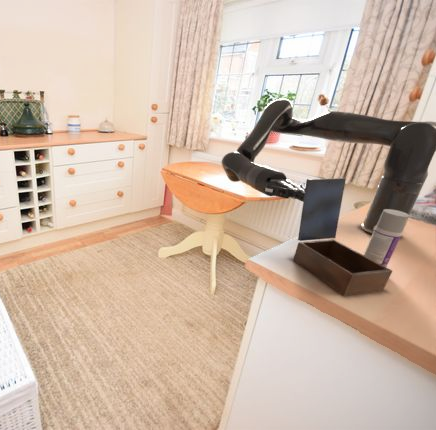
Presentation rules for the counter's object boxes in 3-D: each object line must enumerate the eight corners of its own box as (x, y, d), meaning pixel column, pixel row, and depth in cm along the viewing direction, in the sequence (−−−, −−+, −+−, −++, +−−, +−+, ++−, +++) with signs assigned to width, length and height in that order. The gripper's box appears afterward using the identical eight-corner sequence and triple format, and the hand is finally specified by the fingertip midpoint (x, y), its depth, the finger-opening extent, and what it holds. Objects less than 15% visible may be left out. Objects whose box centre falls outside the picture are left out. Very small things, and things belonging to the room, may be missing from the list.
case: (383, 290, 64) (392, 270, 61) (343, 295, 62) (352, 275, 60) (327, 256, 76) (333, 239, 74) (292, 259, 74) (298, 242, 72)
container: (374, 264, 74) (399, 209, 68) (388, 275, 69) (416, 217, 63) (355, 262, 74) (377, 208, 68) (367, 273, 70) (393, 216, 64)
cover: (345, 178, 70) (342, 177, 71) (309, 179, 68) (306, 179, 69) (335, 238, 74) (332, 237, 75) (300, 240, 72) (297, 239, 73)
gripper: (281, 190, 91) (328, 212, 75) (243, 192, 88) (284, 214, 73) (287, 167, 88) (338, 184, 72) (248, 168, 85) (292, 186, 70)
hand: (311, 199), depth 73 cm, fingers closed
